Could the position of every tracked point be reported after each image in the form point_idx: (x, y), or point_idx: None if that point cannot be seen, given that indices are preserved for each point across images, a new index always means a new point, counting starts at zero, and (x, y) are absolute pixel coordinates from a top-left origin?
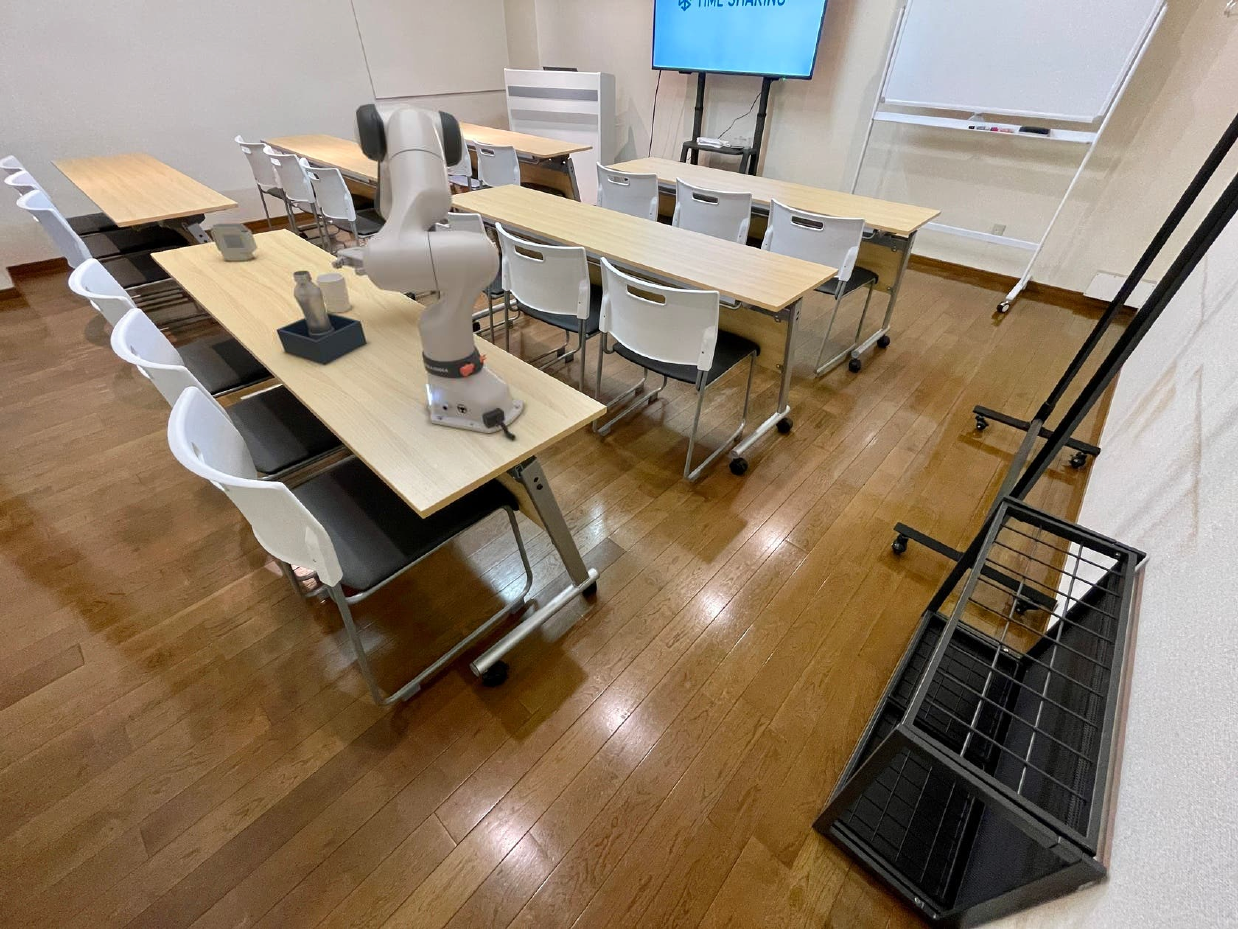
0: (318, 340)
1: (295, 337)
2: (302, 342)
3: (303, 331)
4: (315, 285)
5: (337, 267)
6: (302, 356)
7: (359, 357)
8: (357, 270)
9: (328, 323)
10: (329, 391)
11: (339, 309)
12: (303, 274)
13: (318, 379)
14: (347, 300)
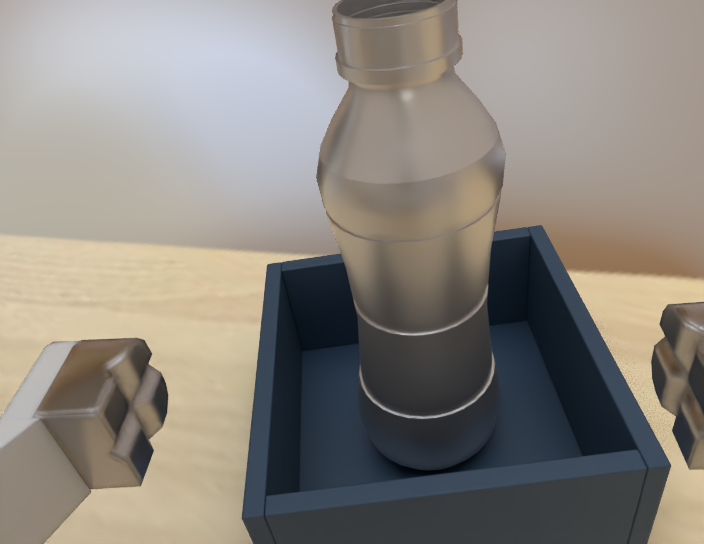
0: (268, 272)
1: None
2: None
3: (564, 358)
4: (352, 137)
5: (655, 374)
6: None
7: (199, 467)
8: (76, 343)
9: (362, 354)
10: (137, 285)
11: None
12: (440, 41)
13: (227, 297)
14: None
